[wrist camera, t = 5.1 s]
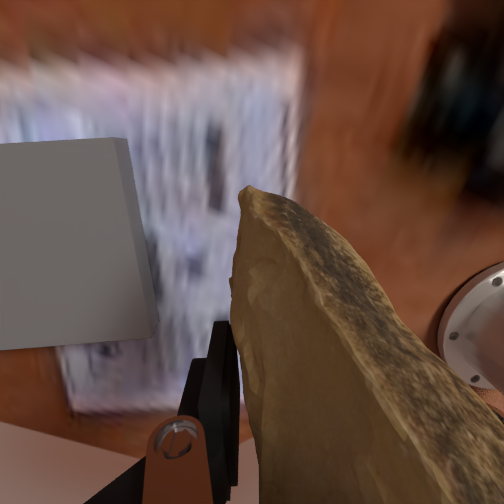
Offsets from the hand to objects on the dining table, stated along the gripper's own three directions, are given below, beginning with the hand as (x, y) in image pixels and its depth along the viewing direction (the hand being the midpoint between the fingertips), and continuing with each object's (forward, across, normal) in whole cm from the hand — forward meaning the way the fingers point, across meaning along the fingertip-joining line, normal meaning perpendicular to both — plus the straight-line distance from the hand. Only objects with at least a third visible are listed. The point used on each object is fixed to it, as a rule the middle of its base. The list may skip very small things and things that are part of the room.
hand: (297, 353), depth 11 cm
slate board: (+12, +17, -2) cm, 21 cm away
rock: (+2, 0, 0) cm, 2 cm away
